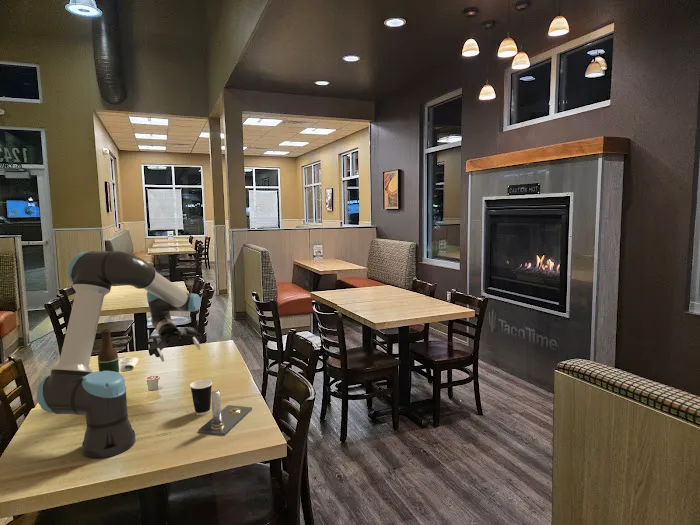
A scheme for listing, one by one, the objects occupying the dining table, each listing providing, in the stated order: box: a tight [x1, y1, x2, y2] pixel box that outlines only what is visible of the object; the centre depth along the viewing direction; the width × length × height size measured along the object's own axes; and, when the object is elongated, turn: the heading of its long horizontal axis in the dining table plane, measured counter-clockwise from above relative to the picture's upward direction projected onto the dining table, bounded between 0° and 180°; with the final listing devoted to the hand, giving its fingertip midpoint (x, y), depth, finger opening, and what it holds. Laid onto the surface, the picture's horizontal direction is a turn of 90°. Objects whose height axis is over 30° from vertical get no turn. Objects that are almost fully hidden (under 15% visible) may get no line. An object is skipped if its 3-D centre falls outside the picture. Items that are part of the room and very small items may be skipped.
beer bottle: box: [97, 328, 120, 373], centre depth 199 cm, size 8×8×24 cm
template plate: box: [197, 404, 253, 436], centre depth 163 cm, size 20×10×1 cm, turn 166°
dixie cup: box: [189, 379, 213, 416], centre depth 169 cm, size 8×8×11 cm
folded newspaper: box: [118, 355, 140, 373], centre depth 220 cm, size 3×18×15 cm
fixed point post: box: [211, 390, 223, 428], centre depth 156 cm, size 4×4×12 cm
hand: (181, 352), depth 175 cm, fingers open, 13 cm apart
